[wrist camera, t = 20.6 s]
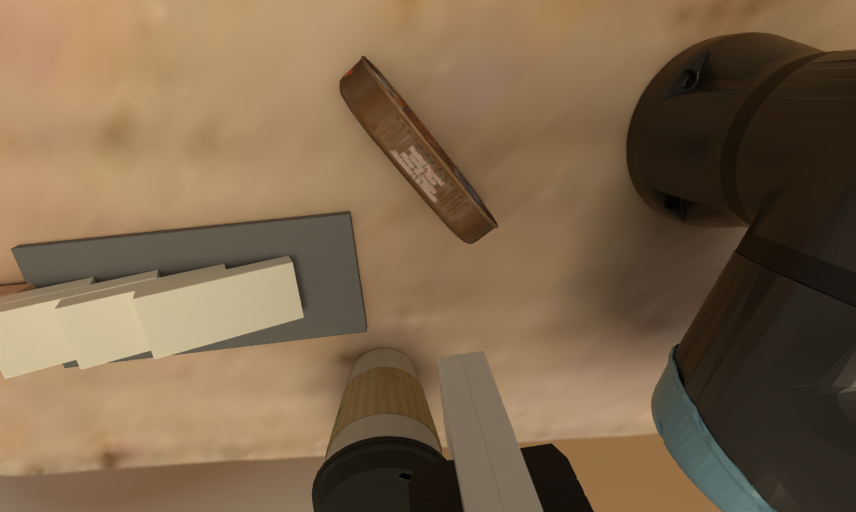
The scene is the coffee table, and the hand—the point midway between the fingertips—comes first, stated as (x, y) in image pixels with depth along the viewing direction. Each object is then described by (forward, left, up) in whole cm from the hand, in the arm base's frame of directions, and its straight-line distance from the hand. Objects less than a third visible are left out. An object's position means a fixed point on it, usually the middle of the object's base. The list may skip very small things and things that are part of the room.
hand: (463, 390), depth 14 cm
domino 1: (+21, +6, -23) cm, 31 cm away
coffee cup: (+4, +17, -25) cm, 30 cm away
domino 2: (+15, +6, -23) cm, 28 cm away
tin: (-1, -4, -25) cm, 25 cm away
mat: (+18, +6, -24) cm, 31 cm away
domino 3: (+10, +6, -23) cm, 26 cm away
